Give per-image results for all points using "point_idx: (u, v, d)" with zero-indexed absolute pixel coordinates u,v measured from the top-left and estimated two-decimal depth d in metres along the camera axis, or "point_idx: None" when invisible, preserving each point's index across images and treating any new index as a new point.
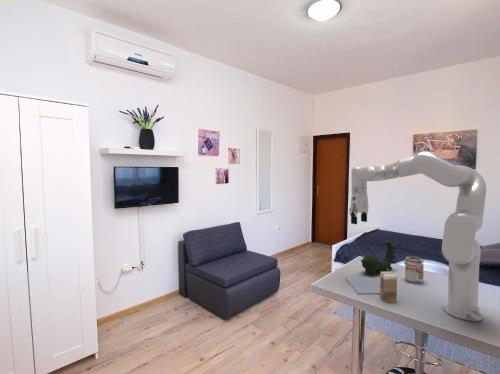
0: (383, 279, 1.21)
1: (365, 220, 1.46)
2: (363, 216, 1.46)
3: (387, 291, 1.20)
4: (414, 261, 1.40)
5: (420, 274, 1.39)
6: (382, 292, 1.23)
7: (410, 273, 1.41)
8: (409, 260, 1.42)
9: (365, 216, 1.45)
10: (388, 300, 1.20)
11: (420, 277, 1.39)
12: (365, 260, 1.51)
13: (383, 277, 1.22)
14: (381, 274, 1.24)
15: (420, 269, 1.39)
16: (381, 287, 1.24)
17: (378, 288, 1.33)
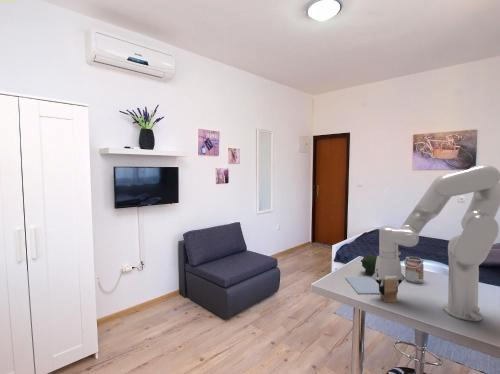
0: None
1: None
2: None
3: (387, 291, 1.20)
4: (414, 261, 1.40)
5: (420, 274, 1.39)
6: None
7: (410, 273, 1.41)
8: (409, 260, 1.42)
9: None
10: (388, 300, 1.20)
11: (420, 277, 1.39)
12: (365, 260, 1.51)
13: None
14: None
15: (420, 269, 1.39)
16: None
17: (378, 288, 1.33)
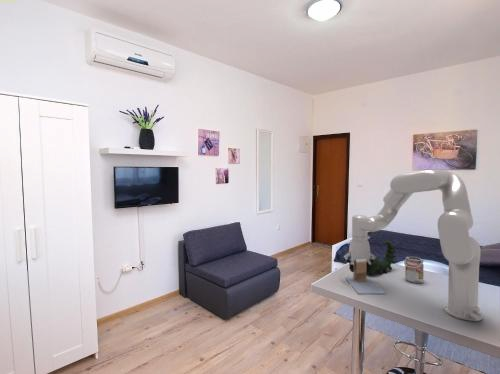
0: (355, 262, 1.43)
1: None
2: None
3: (358, 272, 1.41)
4: (414, 261, 1.40)
5: (420, 274, 1.39)
6: (354, 274, 1.44)
7: (410, 273, 1.41)
8: (409, 260, 1.42)
9: None
10: (359, 280, 1.42)
11: (420, 277, 1.39)
12: None
13: (355, 260, 1.43)
14: None
15: (420, 269, 1.39)
16: None
17: (378, 288, 1.33)
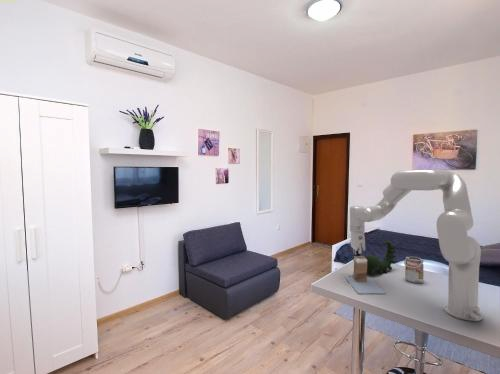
0: (356, 263, 1.42)
1: None
2: None
3: (359, 273, 1.41)
4: (414, 261, 1.40)
5: (420, 274, 1.39)
6: (355, 273, 1.44)
7: (410, 273, 1.41)
8: (409, 260, 1.42)
9: None
10: (359, 280, 1.42)
11: (420, 277, 1.39)
12: None
13: (356, 261, 1.42)
14: (354, 258, 1.44)
15: (420, 269, 1.39)
16: (354, 269, 1.45)
17: (378, 288, 1.33)
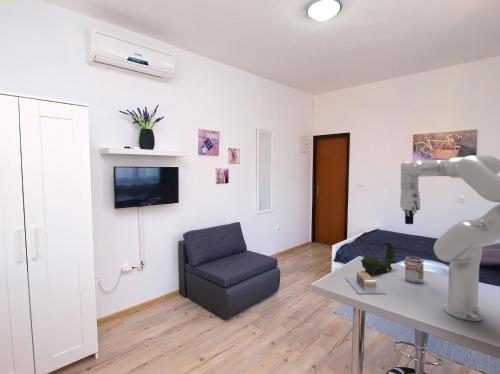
0: (363, 286, 1.32)
1: None
2: None
3: None
4: (414, 261, 1.40)
5: (420, 274, 1.39)
6: (358, 279, 1.39)
7: (410, 273, 1.41)
8: (409, 260, 1.42)
9: None
10: None
11: (420, 277, 1.39)
12: (365, 260, 1.51)
13: (364, 286, 1.31)
14: (365, 283, 1.30)
15: (420, 269, 1.39)
16: (360, 277, 1.36)
17: (378, 288, 1.33)
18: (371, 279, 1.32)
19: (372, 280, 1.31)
